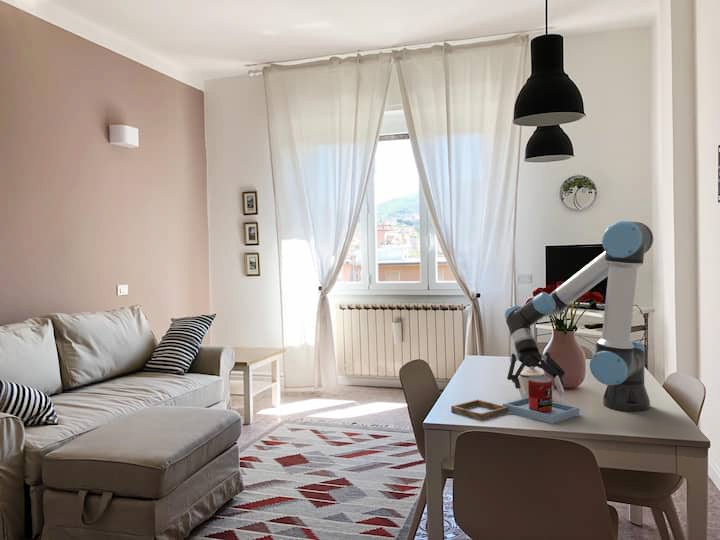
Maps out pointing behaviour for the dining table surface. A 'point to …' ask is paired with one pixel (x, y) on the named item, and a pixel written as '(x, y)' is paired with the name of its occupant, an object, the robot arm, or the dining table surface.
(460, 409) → the frame
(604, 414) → the dining table surface
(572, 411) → the slate-blue tray
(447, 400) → the dining table surface
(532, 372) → the teacup with lid
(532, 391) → the canned food
